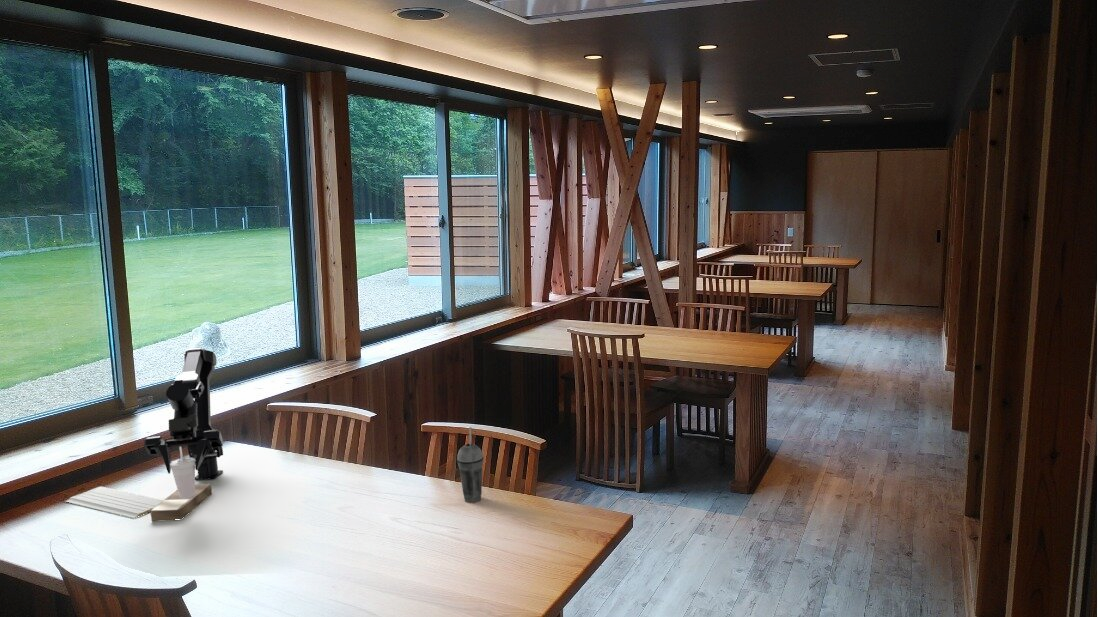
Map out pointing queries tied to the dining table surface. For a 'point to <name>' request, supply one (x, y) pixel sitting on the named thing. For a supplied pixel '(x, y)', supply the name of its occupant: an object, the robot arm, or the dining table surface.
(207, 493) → the beam
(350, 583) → the dining table surface
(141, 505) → the baseboard molding
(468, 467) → the beverage cup
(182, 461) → the smoothie
